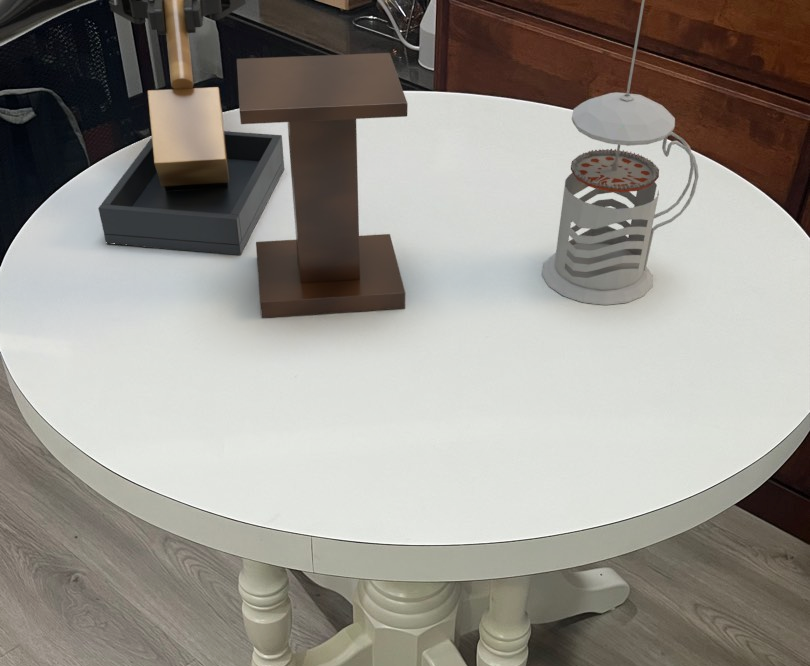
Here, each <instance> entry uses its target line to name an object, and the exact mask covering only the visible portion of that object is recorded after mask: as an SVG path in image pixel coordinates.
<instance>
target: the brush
mask: <svg viewBox="0 0 810 666" xmlns="http://www.w3.org/2000/svg"><path fill="white" fill-rule="evenodd" d="M163 5H164V16H165V26H166V34H165V35H166V43H167V44H166V45H167V56H168V57H167V58H168V66H169V67H168V68H169V75H170V76H169V77H170V86H171V88H170V89H169V88H168V89H151V90H150V89H149V90H147V100H148V112H149V113H148V114H149V122H150V132H151V138H152V144H153V155H154V164H155V167H156V171H157V174H158V177H159V181H160V184H161V186H164V187H165V190H166V191H175V190H191V189H208V188H224V187H228V182H229V173H228V163H227V153H226V144H225V134H224V131H225V126H224V114H223V108H222V99H221V93H220V88H219V86H212V87H211V86H210V87H194V85H195V84H194V73H193V65H192V64H193V63H192V54H191V44H190V33H188V32H187V26H186V19H185V12H184V0H163Z"/></svg>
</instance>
